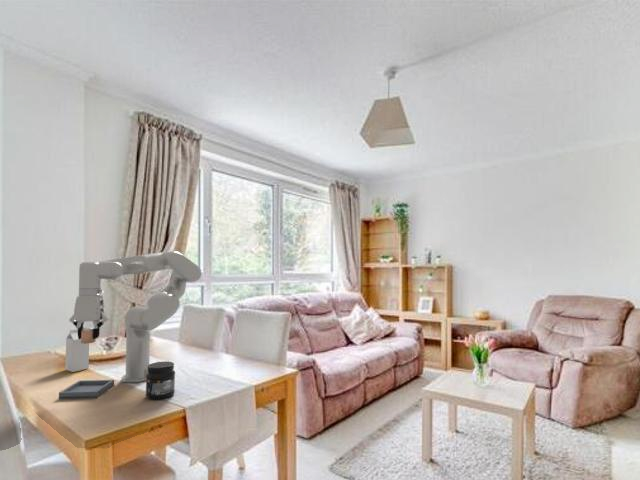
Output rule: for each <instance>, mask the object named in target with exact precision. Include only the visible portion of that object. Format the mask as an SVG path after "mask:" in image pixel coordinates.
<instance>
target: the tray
mask: <svg viewBox="0 0 640 480" xmlns="http://www.w3.org/2000/svg"><path fill="white" fill-rule="evenodd" d="M114 386H115V379H95V380H94V379H91V380H87V379H86V380H85V379H84V380H78V381H76V382H74V383H72V384H70V385H69V386H67V387H66V388H64V389H63V390H61V391H60V392H58V400H85V399H86V400H87V399H88V400H89V399H90V400H92V399H98V398H100V397H102V395H104V394H105V393H106V392H108V391H109V390H111V389H112V388H113V387H114Z"/></svg>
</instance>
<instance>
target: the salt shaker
mask: <svg viewBox="0 0 640 480" xmlns="http://www.w3.org/2000/svg"><path fill="white" fill-rule="evenodd" d="M93 329H94V326H93V327H92V326H89V327H83V329H82V331H81V343H83V344H86V343H89V344H93V343H96V340H97V338H96V339H93Z"/></svg>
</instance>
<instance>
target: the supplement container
mask: <svg viewBox="0 0 640 480" xmlns="http://www.w3.org/2000/svg"><path fill="white" fill-rule="evenodd" d="M174 369H175V364H174V362H173V361H168V360H166V361H155V362H152V363H149V365H148V369H147V371H148V373H147V374H146V381H145V397H146V398H147V399H148V400H150V401H151V400H152V401H160V400H161V401H162V400H165V399H169V398H171V397H172V396H174V395H175V392H176V389H175V385H176V378H175V377H176V371H175V370H174Z"/></svg>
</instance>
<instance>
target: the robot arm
mask: <svg viewBox="0 0 640 480" xmlns="http://www.w3.org/2000/svg"><path fill="white" fill-rule="evenodd" d="M165 270H172V272H171V279H170V282H169V284H168V285H167V286H165V287H164V288H162V289H161V290H159V291H157V293H155V294H153V295H151V296H150V298H149V299H148V300H147V304H146V306H147V307H146V306H142V305H141V306H140V305H139V306H138V305H137V306H133V307H130V309H128V310H127V311H126V313H125V316H124V326H125V333H126V335H125V336H126V337H125V338H126V339H125V340H126V345H125V346H126V347H125V375H122V376H121V382H122V383H126V384H131V383H132V384H133V383H134V384H135V383H141V382H146V374H147V373H148V371H147V369H148V365H150V359H151V358H150V354H151V350H150V349H151V348H150V347H151V334H150V331H153V330H155V329H157V328H158V327H160V326H161V325H162V324H163V323H165V322H167V320H169V319H170V318H171V317H173V316H174V315H175V314H176V313H177V312H178V311H179V308H180V299H181V298H182V297H183V296H184V294H185V292H186V286H187V283H196V282H198V281H199V280H200V279H201V277H202V270H201V268H200V267H199V265H197V263H195V262H194V261H192V260H191V259H189V258H188V257H187V256H185V255H184V254H183V253H181V252H179V251H176V250H175V251H170V250H169V251H160V252H152V253H147V254H146V253H145V254H141V255H134V256H133V255H132V256H128V257H121V258H114V259H106V260H102V261H83V262H80V264H79V271H78V272H79V273H78V295H77V297H76V298H75V303H74V309H73V312H74V313H73V314H72V316H71V317H70V318H69V322H70V323H72V324H73V325H74V327H76V330H77V329H78V339H81V331H82V329H83V328H84V325H85V322H92V323H93V327H94V329H93V339H96V340H97V339H99V337H100V332H101V331H100V328H101V327H102V326H103V325H104V324H105V323H106V322H108V321H109V318H108V317H107V315H106V312H105V311H106V309H105V301H104V296H103V295H101V294H104V289H102V288H101V287H102V286H101V280H117V279H119V278H121V277H122V276H123V275H125V276H126V275H145V274H150V273H154V272H160V271H165Z"/></svg>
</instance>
